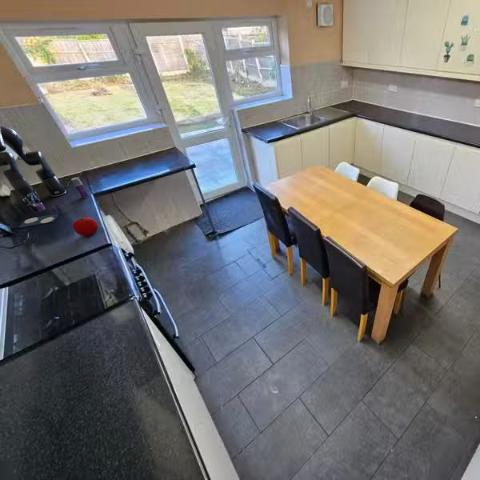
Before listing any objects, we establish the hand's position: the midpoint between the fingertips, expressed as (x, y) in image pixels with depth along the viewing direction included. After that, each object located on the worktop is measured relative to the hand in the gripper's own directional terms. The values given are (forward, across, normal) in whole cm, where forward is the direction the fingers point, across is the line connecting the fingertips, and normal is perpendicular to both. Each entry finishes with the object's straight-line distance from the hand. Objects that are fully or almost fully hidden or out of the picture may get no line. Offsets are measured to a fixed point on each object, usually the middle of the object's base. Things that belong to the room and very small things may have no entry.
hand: (38, 208), depth 175 cm
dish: (+1, 0, 0) cm, 1 cm away
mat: (+9, -2, -5) cm, 11 cm away
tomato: (+9, +29, +31) cm, 44 cm away
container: (+9, -30, +15) cm, 35 cm away
